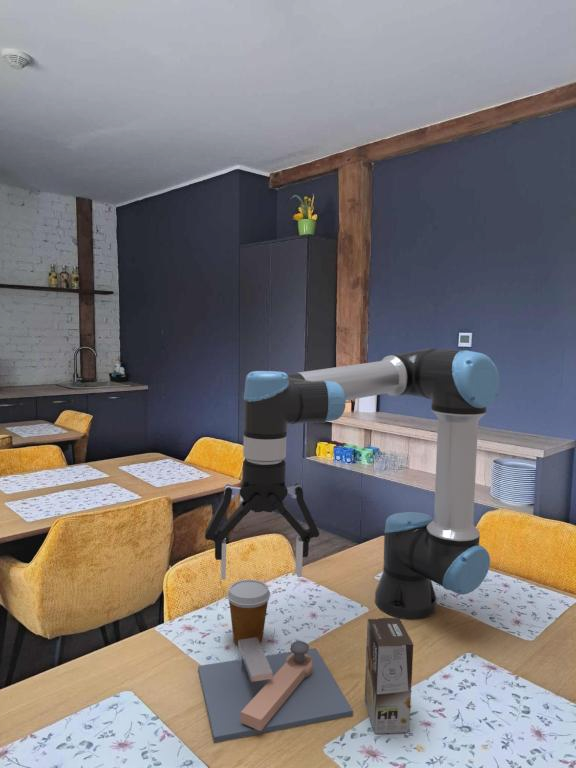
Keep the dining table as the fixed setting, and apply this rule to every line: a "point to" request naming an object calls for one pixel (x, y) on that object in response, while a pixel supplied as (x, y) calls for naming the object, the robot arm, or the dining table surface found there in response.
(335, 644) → the dining table surface
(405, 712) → the coffee box
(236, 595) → the disposable coffee cup
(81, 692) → the dining table surface
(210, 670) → the mount board
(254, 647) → the block
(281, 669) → the link
